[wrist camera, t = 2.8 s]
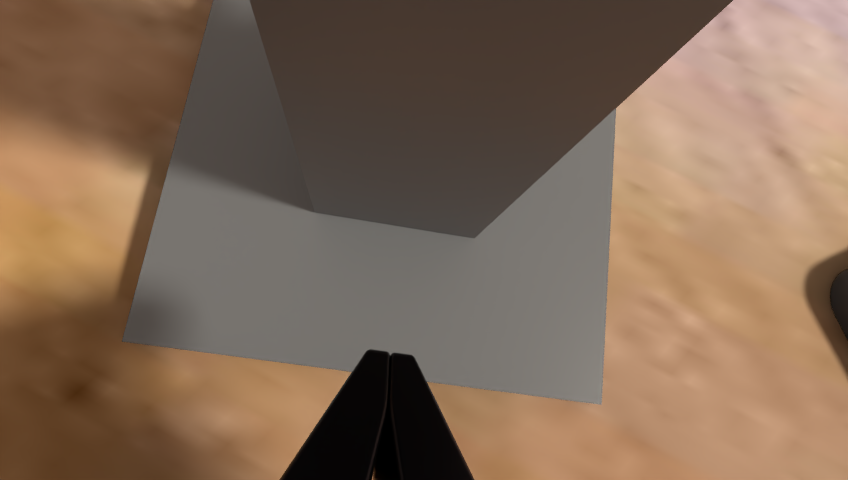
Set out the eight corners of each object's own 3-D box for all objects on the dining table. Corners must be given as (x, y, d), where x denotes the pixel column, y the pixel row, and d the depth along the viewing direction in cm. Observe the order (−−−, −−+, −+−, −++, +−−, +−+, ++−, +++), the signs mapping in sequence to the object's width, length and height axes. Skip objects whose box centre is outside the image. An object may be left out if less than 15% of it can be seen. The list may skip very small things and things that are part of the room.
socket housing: (589, 402, 16) (861, 465, 7) (134, 341, 14) (-186, 333, 6) (615, -83, 20) (805, -398, 12) (267, -166, 19) (192, -592, 10)
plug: (474, 238, 16) (824, -84, 4) (314, 212, 15) (173, -247, 3) (493, 68, 17) (795, -543, 5) (347, 40, 16) (326, -706, 5)
